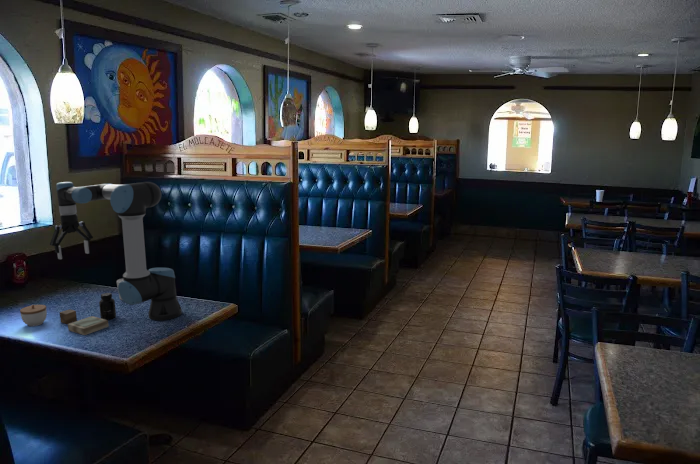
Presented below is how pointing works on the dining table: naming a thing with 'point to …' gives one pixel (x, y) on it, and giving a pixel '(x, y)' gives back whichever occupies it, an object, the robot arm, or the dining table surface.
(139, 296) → the robot arm
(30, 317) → the lidded jar
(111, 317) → the supplement bottle
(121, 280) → the white cup
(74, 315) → the walnut cube
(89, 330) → the plinth
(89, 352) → the dining table surface
